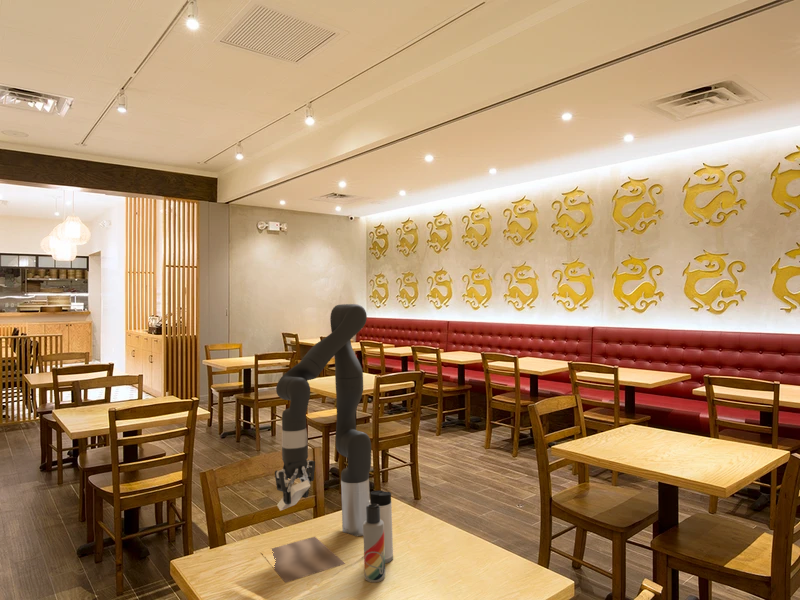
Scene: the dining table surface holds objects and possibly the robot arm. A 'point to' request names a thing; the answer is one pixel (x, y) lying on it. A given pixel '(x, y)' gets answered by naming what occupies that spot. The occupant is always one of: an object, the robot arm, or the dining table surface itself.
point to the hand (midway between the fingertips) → (296, 500)
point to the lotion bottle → (374, 544)
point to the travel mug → (385, 519)
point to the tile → (295, 494)
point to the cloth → (303, 559)
